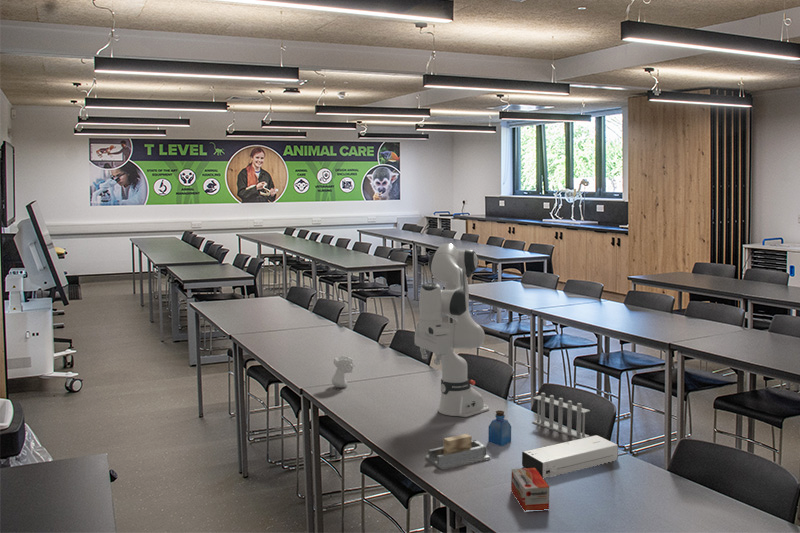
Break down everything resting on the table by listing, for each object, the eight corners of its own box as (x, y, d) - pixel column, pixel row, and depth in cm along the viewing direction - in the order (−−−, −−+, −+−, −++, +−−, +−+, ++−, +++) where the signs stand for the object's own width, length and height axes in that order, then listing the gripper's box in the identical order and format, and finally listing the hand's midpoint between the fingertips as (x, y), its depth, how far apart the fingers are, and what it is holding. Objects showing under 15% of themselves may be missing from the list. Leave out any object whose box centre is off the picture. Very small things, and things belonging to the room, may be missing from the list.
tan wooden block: (466, 451, 251) (467, 433, 250) (471, 454, 249) (471, 436, 248) (443, 457, 247) (443, 438, 246) (448, 460, 244) (448, 441, 243)
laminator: (595, 450, 255) (596, 434, 254) (620, 462, 244) (620, 445, 244) (521, 468, 240) (522, 451, 239) (544, 481, 229) (544, 464, 228)
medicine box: (510, 491, 221) (510, 467, 220) (534, 490, 222) (535, 466, 221) (524, 513, 206) (524, 488, 206) (550, 512, 207) (550, 487, 206)
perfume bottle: (498, 437, 268) (498, 408, 266) (511, 441, 264) (511, 411, 262) (488, 442, 264) (488, 411, 262) (501, 446, 259) (501, 415, 258)
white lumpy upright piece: (331, 385, 340) (331, 355, 338) (354, 384, 341) (353, 354, 339) (331, 390, 330) (331, 360, 328) (355, 389, 331) (354, 359, 330)
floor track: (471, 448, 258) (471, 437, 257) (490, 459, 247) (490, 448, 247) (425, 458, 248) (425, 447, 248) (442, 470, 238) (442, 459, 237)
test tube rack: (589, 437, 268) (590, 404, 266) (582, 440, 265) (583, 407, 263) (539, 420, 287) (539, 390, 285) (532, 423, 284) (532, 392, 282)
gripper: (410, 322, 269) (410, 356, 271) (436, 331, 251) (437, 368, 253) (424, 320, 272) (424, 354, 273) (451, 330, 254) (451, 366, 255)
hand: (430, 361), depth 263 cm, fingers open, 8 cm apart
